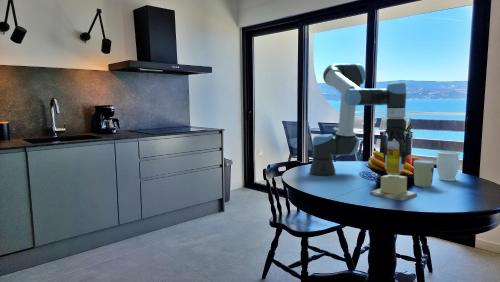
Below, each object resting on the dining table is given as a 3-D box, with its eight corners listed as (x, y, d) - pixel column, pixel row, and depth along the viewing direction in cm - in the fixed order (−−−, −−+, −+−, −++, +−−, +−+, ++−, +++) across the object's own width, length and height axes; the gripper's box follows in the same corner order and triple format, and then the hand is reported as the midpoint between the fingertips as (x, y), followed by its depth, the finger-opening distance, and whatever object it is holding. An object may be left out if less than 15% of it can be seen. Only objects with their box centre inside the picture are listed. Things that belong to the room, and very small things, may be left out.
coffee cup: (436, 187, 162) (437, 163, 161) (415, 186, 164) (416, 162, 163) (430, 183, 171) (430, 160, 170) (410, 182, 173) (411, 159, 172)
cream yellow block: (380, 191, 150) (380, 176, 149) (389, 188, 155) (389, 174, 154) (397, 195, 144) (398, 179, 143) (406, 192, 149) (407, 176, 148)
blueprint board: (370, 194, 151) (370, 191, 151) (385, 189, 159) (385, 186, 159) (402, 200, 140) (402, 197, 139) (416, 195, 148) (417, 192, 148)
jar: (462, 180, 176) (464, 152, 174) (449, 182, 172) (450, 153, 171) (444, 176, 186) (445, 150, 184) (431, 178, 182) (432, 151, 180)
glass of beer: (384, 174, 149) (384, 140, 147) (389, 172, 153) (390, 139, 151) (397, 176, 144) (398, 141, 143) (403, 174, 149) (404, 140, 147)
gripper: (371, 118, 151) (370, 168, 153) (413, 118, 136) (411, 174, 139) (380, 117, 156) (379, 166, 158) (421, 118, 141) (419, 171, 143)
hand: (394, 169), depth 148 cm, fingers closed on glass of beer, 6 cm apart
